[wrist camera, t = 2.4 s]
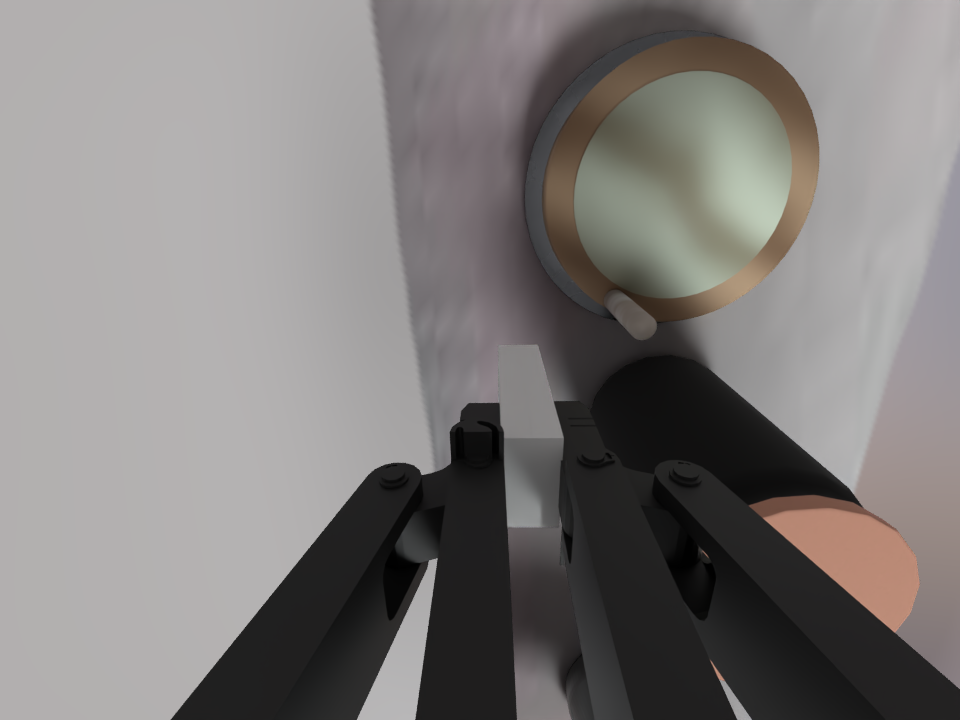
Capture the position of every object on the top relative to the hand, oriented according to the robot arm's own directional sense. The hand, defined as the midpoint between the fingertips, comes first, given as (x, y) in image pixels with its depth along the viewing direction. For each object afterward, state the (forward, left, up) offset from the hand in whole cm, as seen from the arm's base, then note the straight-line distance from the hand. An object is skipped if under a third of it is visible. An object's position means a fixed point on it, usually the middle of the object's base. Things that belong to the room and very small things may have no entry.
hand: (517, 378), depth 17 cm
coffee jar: (-4, -15, -17) cm, 23 cm away
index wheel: (+10, -6, -17) cm, 21 cm away
